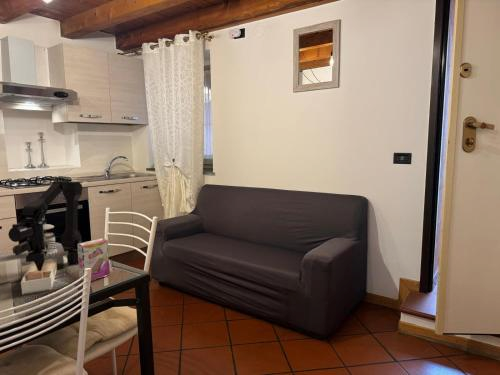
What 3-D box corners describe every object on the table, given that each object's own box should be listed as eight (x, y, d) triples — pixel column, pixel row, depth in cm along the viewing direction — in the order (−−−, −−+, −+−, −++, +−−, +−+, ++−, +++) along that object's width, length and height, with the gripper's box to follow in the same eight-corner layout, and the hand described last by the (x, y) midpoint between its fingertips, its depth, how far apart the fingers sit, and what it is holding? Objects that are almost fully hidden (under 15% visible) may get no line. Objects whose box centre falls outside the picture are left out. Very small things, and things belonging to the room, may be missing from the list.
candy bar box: (85, 284, 142) (81, 246, 139) (79, 281, 145) (76, 243, 143) (110, 275, 150) (107, 239, 148) (104, 273, 153) (102, 237, 151)
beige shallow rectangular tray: (57, 267, 161) (56, 259, 161) (54, 279, 147) (53, 270, 147) (32, 270, 157) (31, 262, 157) (26, 283, 143) (25, 274, 142)
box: (54, 279, 147) (53, 268, 146) (51, 289, 137) (50, 277, 137) (26, 284, 143) (25, 272, 142) (22, 294, 133) (20, 282, 132)
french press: (62, 250, 186) (58, 205, 182) (41, 257, 176) (36, 209, 172) (50, 248, 190) (46, 204, 187) (29, 254, 180) (24, 208, 176)
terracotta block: (42, 270, 143) (41, 272, 141) (43, 281, 144) (42, 284, 141) (28, 272, 141) (27, 274, 139) (30, 283, 142) (28, 286, 140)
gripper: (17, 231, 148) (21, 266, 150) (8, 243, 131) (12, 282, 133) (46, 228, 152) (50, 262, 155) (41, 239, 136) (45, 277, 138)
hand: (39, 270), depth 145 cm, fingers closed
